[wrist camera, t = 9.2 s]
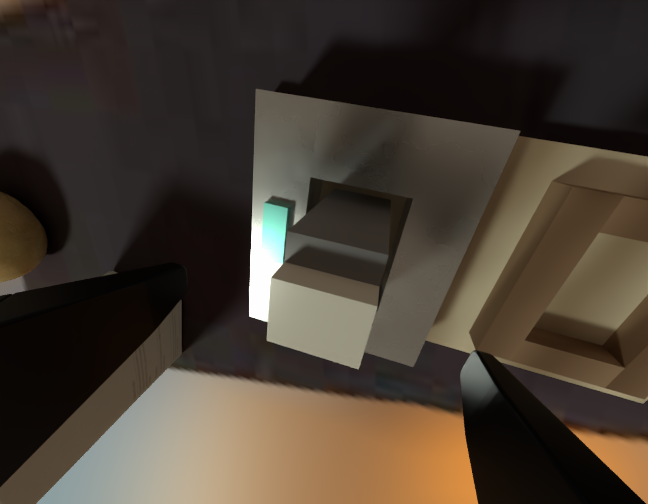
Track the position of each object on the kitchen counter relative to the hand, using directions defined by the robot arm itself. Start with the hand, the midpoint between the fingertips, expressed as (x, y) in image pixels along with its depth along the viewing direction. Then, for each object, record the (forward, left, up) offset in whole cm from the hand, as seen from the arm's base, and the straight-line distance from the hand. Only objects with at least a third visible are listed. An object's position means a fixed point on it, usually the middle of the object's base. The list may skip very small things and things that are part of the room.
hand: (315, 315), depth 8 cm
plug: (0, 0, -8) cm, 8 cm away
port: (0, 0, -9) cm, 9 cm away
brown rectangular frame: (-12, 0, -9) cm, 15 cm away
